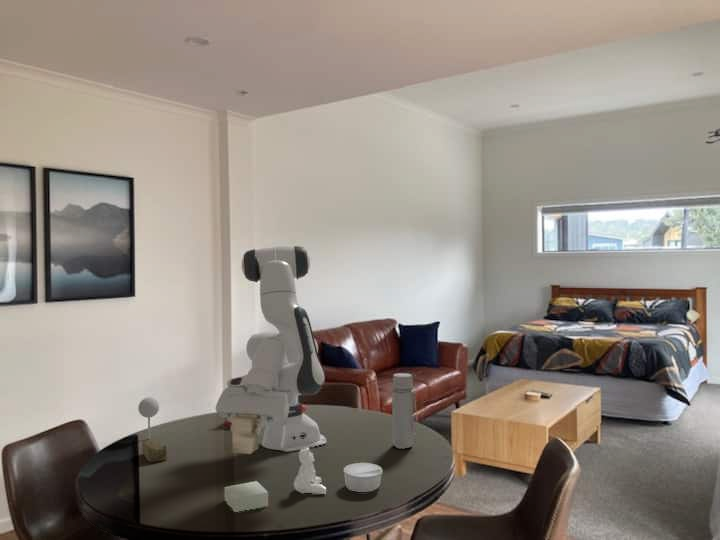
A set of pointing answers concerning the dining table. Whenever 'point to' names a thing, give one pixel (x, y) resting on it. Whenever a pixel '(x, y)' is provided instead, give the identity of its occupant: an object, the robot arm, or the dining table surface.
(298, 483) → the seated beast figurine
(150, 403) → the lollipop
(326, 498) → the dining table surface
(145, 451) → the stone block
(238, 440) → the birch block
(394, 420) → the water bottle
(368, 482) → the ramekin
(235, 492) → the sage block
